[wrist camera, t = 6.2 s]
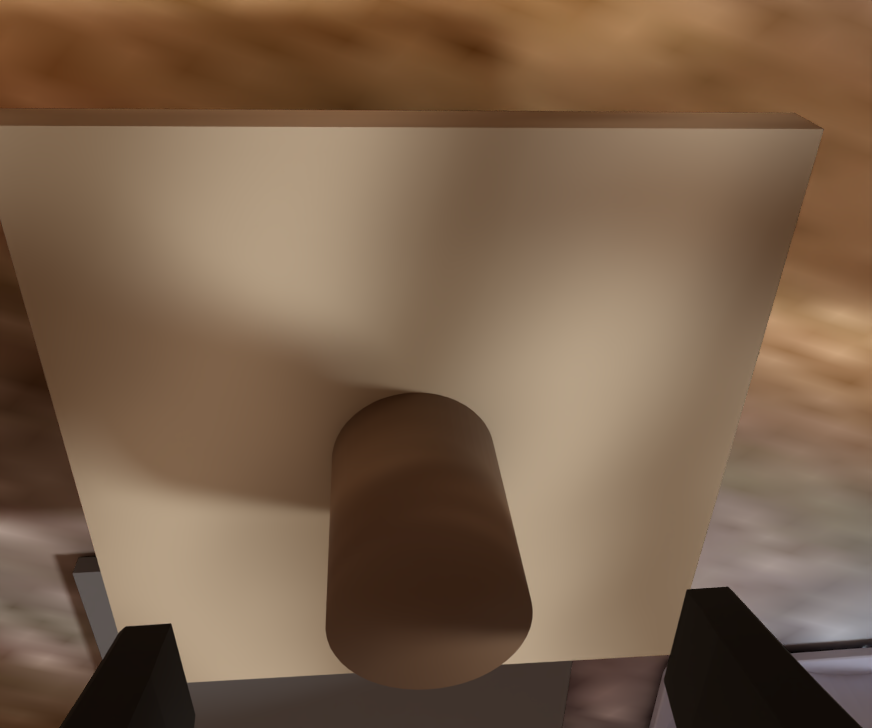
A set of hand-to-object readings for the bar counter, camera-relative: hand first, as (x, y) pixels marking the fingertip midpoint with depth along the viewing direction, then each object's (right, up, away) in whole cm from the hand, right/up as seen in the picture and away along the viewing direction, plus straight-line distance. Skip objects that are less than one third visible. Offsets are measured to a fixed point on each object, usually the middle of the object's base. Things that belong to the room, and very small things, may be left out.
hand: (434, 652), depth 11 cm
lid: (0, +3, +5) cm, 6 cm away
